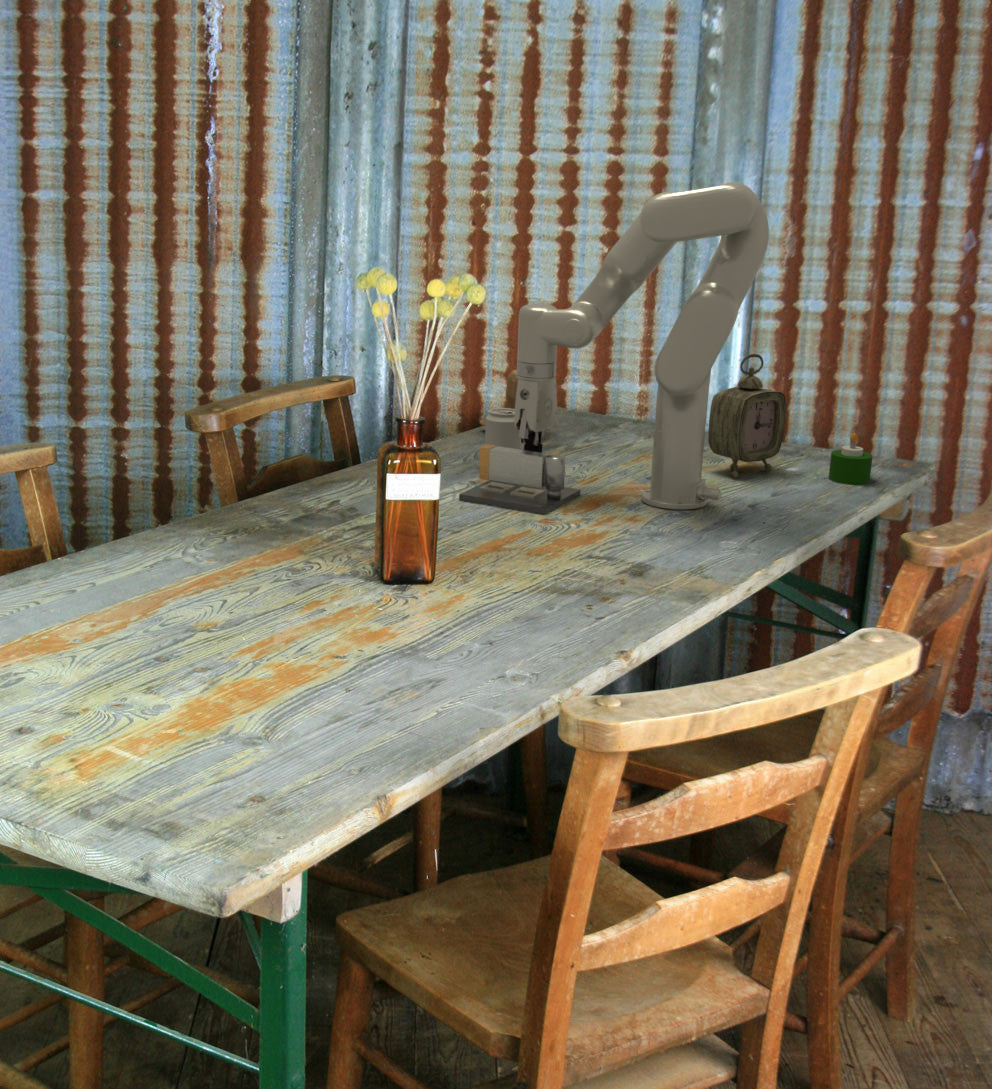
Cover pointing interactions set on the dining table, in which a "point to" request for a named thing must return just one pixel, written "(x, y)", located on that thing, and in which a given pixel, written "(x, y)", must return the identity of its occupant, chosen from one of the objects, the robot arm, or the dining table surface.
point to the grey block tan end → (522, 467)
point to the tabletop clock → (747, 421)
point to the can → (502, 429)
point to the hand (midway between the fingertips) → (532, 463)
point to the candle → (850, 464)
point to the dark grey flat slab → (519, 496)
